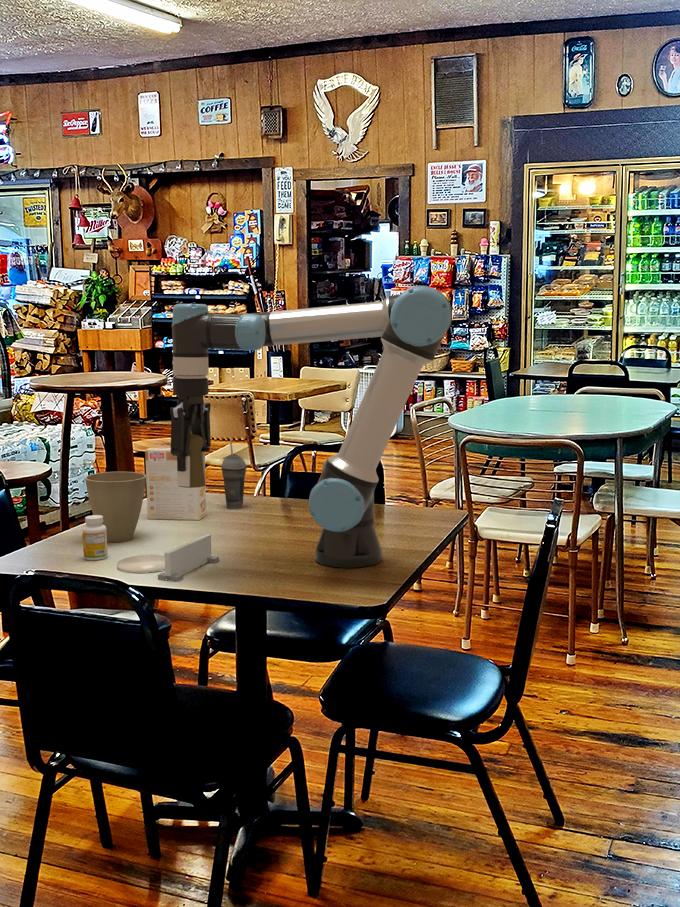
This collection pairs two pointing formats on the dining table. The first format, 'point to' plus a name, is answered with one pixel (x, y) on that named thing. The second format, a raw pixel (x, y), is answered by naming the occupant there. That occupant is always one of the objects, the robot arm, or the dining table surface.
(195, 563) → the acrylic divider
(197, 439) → the brown pawn
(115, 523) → the plant pot
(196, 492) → the coffeecake box
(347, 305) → the robot arm
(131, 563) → the ceramic saucer
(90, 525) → the supplement bottle
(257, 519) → the dining table surface
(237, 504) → the beverage cup
